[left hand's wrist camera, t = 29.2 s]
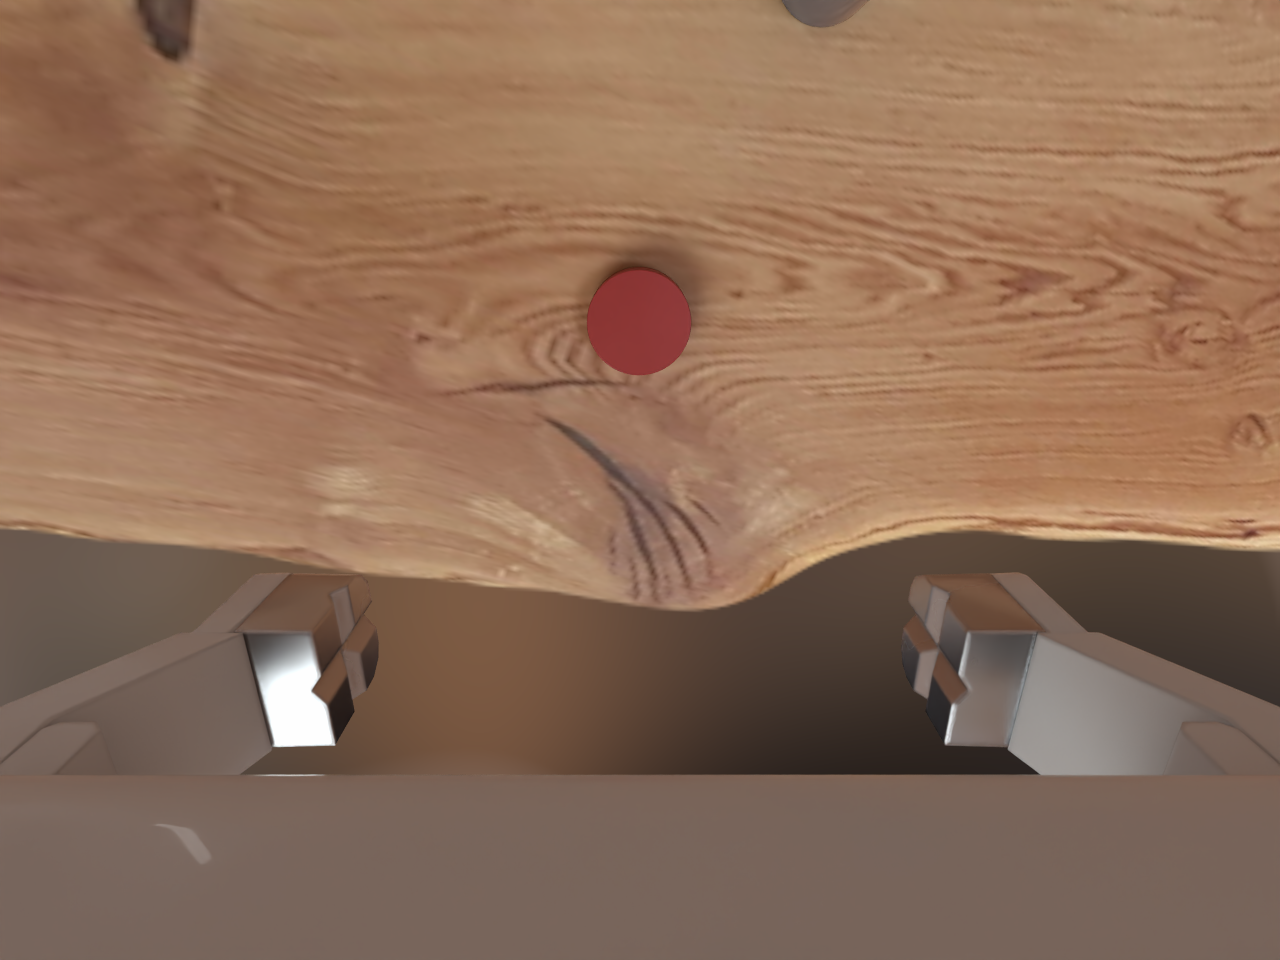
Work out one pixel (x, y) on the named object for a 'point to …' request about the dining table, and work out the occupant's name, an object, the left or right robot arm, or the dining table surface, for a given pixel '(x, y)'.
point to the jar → (823, 11)
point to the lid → (639, 321)
